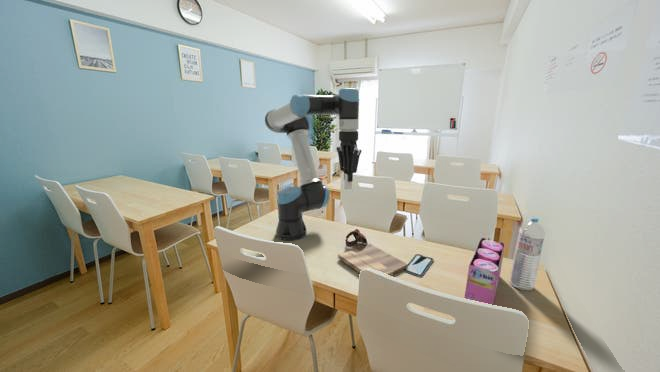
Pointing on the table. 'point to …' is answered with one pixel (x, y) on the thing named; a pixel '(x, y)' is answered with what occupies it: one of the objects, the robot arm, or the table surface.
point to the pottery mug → (356, 238)
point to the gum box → (484, 271)
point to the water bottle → (527, 255)
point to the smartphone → (418, 265)
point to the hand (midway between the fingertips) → (348, 188)
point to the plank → (362, 261)
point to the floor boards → (383, 258)
